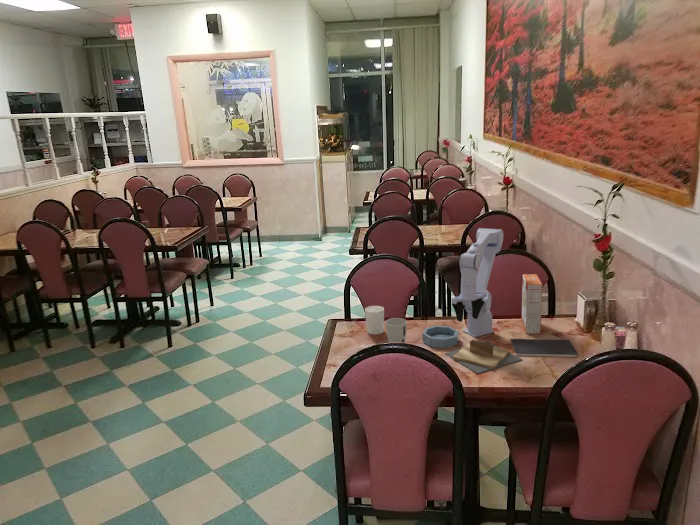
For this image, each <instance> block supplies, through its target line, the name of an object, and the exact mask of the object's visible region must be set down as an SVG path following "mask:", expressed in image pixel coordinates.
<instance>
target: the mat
mask: <svg viewBox="0 0 700 525" xmlns="http://www.w3.org/2000/svg"><path fill="white" fill-rule="evenodd" d="M483 342H484V343H489V344H493V343H492V342H489V341H483ZM493 347H497V348H500V346H497V345H495V344H493ZM461 349H462V348H460V349H457V350H452V351H450V352H446V353H444V355H445V354H446V355H445V356H447V355H448V356H450V357H451V360H453V356H454V355H455V354H456V353H457V352H459V351H460V350H461ZM448 356H447V357H448ZM450 357H449V358H450ZM453 361H455V362H457V363H458V362H459V363H458V364H460V365H461V366H463V367H465V368H466V369H469V371H472V372H473V373H475V374H476V373H477V375H480V374H483V373H485V372H486V373H487V372H490V371H491V370H495V369H498V368H501V367H505V366H508V365H512V364H515V363H518V362H521V361H523V358H521V357H520V356H518V355H516V354H513V353H511V352H510V353H509V354H508V355H507V356H506V357H505V358H504V359H503V360H502V361H501V362H500V363H499V364H498V365H497V366H496V367H494V368H493V369H490V368H486V367H483V366H479V365H475V364H471V363H467V362H464V361H460V360H456V359H454V360H453Z"/></svg>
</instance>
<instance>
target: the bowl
mask: <svg viewBox="0 0 700 525" xmlns="http://www.w3.org/2000/svg"><path fill="white" fill-rule="evenodd" d="M423 342H424V344H425V343H426V344H425V345H427V346H428V347H429V348H437V347H438V348H439V349H447V348H446V347H448V348H451V347H453V345H455V346H457V345H458V343H457V342H459V330H458V329H455V328H454V327H452V326H448V325H447V326H446V325H433V326H429V327H425V328H424V329H423V332H422V343H423ZM456 344H457V345H456ZM450 346H451V347H450Z"/></svg>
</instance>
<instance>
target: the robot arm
mask: <svg viewBox="0 0 700 525" xmlns="http://www.w3.org/2000/svg"><path fill="white" fill-rule="evenodd" d="M475 237H476V238H475V239H476V242H474V243H472V244H471V245H470V247H469V248H468V249H467V251H466V252H464V253H462V254H461V255H460V257H459V268H460V270H459V271H460V272H459V273H461V274H460V276H461V278H460V293H459V295H458V296H455V297H452V298H451V300H450V301H451V302H450V303H451V306H452V307H453V311H454V314H455V317H456V321H458V322H460V323H463V319H464V318H463V317H464V311H465V312H467V328H464V329H462V332H465V333H466V334H469V335H470V336H472V337H474V338H476V337H481V336H485V335H487V334H493V333H494V330H493V313H492V312H491V311H490V310H491V306H492V294H491V293H490V291H489V290H488V289H487V288H488V285H489V281H490V276H491V272H492V268H493V264H494V260H495V258H496V254H498V253H499V252H501V249H502V246H503V242H504V231H503V230H502V228H499V229H498V228H497V229H496V228H482V227H479V228H478V229H477V231H476V236H475Z"/></svg>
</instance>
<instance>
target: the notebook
mask: <svg viewBox="0 0 700 525" xmlns="http://www.w3.org/2000/svg"><path fill="white" fill-rule="evenodd" d="M510 342H511V344H512V348H513V351H514V353H515V356H517V357H520V356H521V357H522V356H523V357H524V356H525V357H526V356H527V357H559V358H560V357H564V358H566V357H569V358H573V357H574V358H576V357H578V351H577V350H576V348H575V347H574V345H573V343H572V342H571V341H570V339H548V338H547V339H543V338H541V339H537V338H535V339H533V338H531V339H529V338H510Z"/></svg>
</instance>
